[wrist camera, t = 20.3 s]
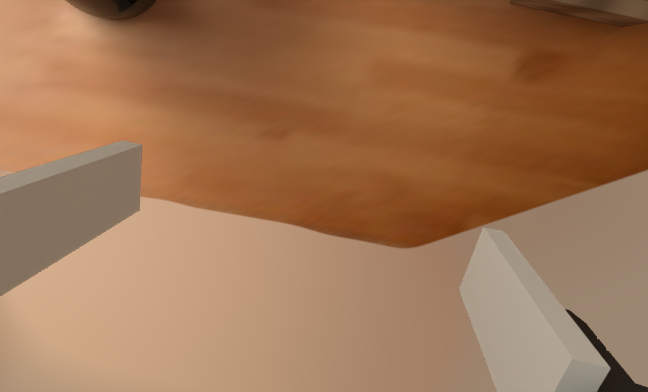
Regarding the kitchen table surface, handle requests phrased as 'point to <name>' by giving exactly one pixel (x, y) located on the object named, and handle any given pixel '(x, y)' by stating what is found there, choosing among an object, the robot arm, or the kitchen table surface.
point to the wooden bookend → (595, 9)
